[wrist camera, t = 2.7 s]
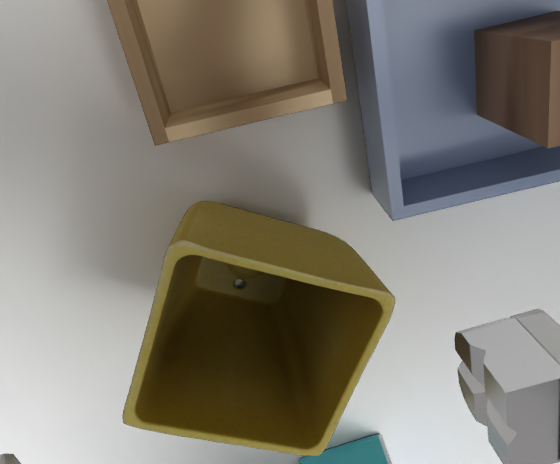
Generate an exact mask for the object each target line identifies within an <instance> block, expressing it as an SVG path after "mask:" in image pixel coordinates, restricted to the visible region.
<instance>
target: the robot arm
mask: <svg viewBox="0 0 560 464" xmlns="http://www.w3.org/2000/svg"><path fill="white" fill-rule="evenodd" d="M455 350H456V351H457V353H458V354H459V356H460V357H461V359H462V360H463V361H462V362H461V364H460V365H459V367H458V369H457V370H458V377H459V384H460V387H461V390H462V393H463V397H464V399H465V401H466V403H467V405H468V408H469V410H470V411H471V413H472V415H473V416H474V418H475V420H476V421H478V422H480V423H482V424H483V425H485V426H487V427H488V438H489V442H490V444H491V446H492V447H493V449H494V450H495V452H496V454H497V455H498V457H499V458H500V460H501V462H502V463H503V464H553V463H557V462H560V326H559V325H558V324H557V323H556V322H555V321H554V320H553V319H552V318H551V317H550V316H549V315H548V314H547V313H546V312H544V311H543V310H540V309H535V310H532V311H528V312H525V313H521V314H518V315H514V316H511V317H510V318H505V319H501V320H498V321H494V322H491V323H487V324H483V325H480V326H476V327H473V328H469V329H465V330H462V331H458V332H456V334H455ZM0 464H21V463H20V462H19V461H18V459H17V458H16V457H15V456H14V454H1V455H0Z"/></svg>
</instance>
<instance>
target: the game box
mask: <svg viewBox="0 0 560 464" xmlns="http://www.w3.org/2000/svg"><path fill="white" fill-rule="evenodd" d="M299 462H300V464H392V462H391V460H390V457H389V454H388V452H387V449H386V446H385V444H384V441H383V438H382V435H379V434H378V435H372V436H369V437H366V438H362V439H359V440H356V441H353V442H350V443H346V444H343V445H340V446H337V447H334V448H331V449H327V450H324V451H323V452H322V453H321V454H320V455H318V456H310V455H309V456H306V457H303V458H301V459H299Z"/></svg>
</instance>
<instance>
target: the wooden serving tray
mask: <svg viewBox="0 0 560 464" xmlns="http://www.w3.org/2000/svg"><path fill="white" fill-rule="evenodd" d="M107 1H108V4H109V7H110V10H111V13H112V16H113V19H114V22H115V25H116V28H117V32H118V35H119V38H120V41H121V44H122V47H123V50H124V53H125V56H126V59H127V62H128V65H129V68H130V71H131V74H132V77H133V80H134V83H135V86H136V89H137V92H138V95H139V98H140V101H141V104H142V107H143V110H144V113H145V116H146V120H147V123H148V126H149V129H150V132H151V135H152V138H153V141H154V144H155V146H156V145H160V144H164V143H168V142H173V141H177V140H181V139H185V138H190V137H194V136H198V135H202V134H207V133H211V132H215V131H219V130H224V129H228V128H232V127H236V126H241V125H245V124H249V123H254V122H258V121H262V120H266V119H271V118H275V117H279V116H283V115H288V114H292V113H296V112H300V111H305V110H309V109H313V108H317V107H322V106H326V105H330V104H334V103H339V102H343V101H347V96H346V89H345V82H344V76H343V69H342V62H341V55H340V48H339V41H338V35H337V28H336V21H335V14H334V7H333V0H107Z"/></svg>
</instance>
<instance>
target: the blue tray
mask: <svg viewBox="0 0 560 464" xmlns="http://www.w3.org/2000/svg"><path fill="white" fill-rule="evenodd" d="M346 4H347V12H348V19H349V26H350V34H351V41H352V49H353V56H354V63H355V71H356V78H357V86H358V93H359V100H360V108H361V115H362V123H363V130H364V137H365V145H366V152H367V160H368V167H369V174H370V182H371V189H372V194H373V196H374V197H375V198H376V200H377V201H378V202H379V204H380V205H381V206H382V208H383V209H384V210H385V212H386V213H387V214H388V215H389V217H390V218H391V219H392V221H394V220H398V219H402V218H406V217H411V216H415V215H419V214H423V213H427V212H432V211H436V210H440V209H444V208H448V207H453V206H457V205H461V204H465V203H470V202H474V201H478V200H482V199H486V198H491V197H495V196H499V195H503V194H508V193H512V192H516V191H520V190H524V189H529V188H533V187H537V186H541V185H545V184H550V183H554V182H558V181H560V146H556V147H552V148H546V147H544V146H541V145H539V144H537V143H535V142H533V141H531V140H529V139H527V138H524V137H522V136H520V135H518V134H516V133H514V132H512V131H510V130H507V129H505V128H503V127H501V126H499V125H497V124H495V123H493V122H491V121H488V120H486V119H484V118H482V117H480V116H478V115H477V106H476V74H475V42H474V30H478V29H482V28H486V27H491V26H495V25H499V24H503V23H508V22H512V21H516V20H520V19H525V18H529V17H533V16H537V15H542V14H546V13H550V12H555V11H560V0H346Z"/></svg>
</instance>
